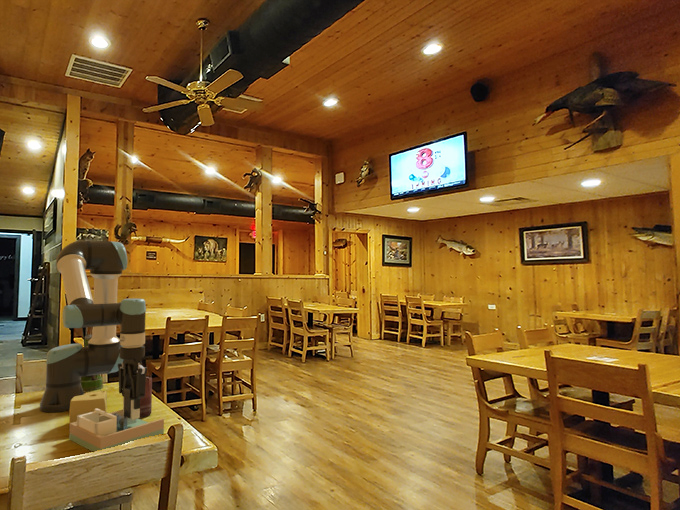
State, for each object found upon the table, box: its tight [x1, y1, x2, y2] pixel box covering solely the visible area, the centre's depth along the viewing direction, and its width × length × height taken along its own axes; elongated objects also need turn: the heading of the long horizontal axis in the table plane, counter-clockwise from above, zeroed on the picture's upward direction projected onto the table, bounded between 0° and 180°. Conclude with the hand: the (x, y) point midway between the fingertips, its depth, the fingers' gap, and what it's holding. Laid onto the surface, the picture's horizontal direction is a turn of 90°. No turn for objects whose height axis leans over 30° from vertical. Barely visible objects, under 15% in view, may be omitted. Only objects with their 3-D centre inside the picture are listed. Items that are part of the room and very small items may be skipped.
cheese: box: [68, 390, 108, 424], centre depth 152 cm, size 10×11×10 cm
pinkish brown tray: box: [68, 409, 165, 452], centre depth 141 cm, size 20×20×5 cm
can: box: [139, 374, 153, 419], centre depth 162 cm, size 6×6×14 cm
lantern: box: [81, 327, 104, 393], centre depth 197 cm, size 14×11×30 cm
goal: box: [77, 408, 117, 436], centre depth 136 cm, size 12×6×7 cm, turn 54°
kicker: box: [113, 387, 137, 431], centre depth 144 cm, size 7×6×12 cm
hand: (131, 417), depth 145 cm, fingers closed on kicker, 4 cm apart
